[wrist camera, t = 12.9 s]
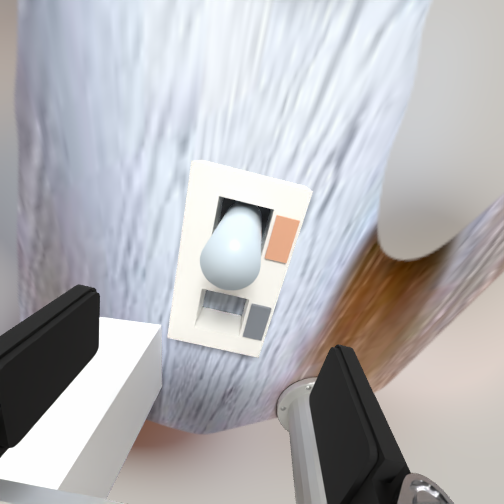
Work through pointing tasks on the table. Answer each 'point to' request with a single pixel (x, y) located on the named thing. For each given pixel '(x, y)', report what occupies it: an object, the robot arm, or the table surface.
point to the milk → (93, 415)
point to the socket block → (272, 256)
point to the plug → (234, 248)
